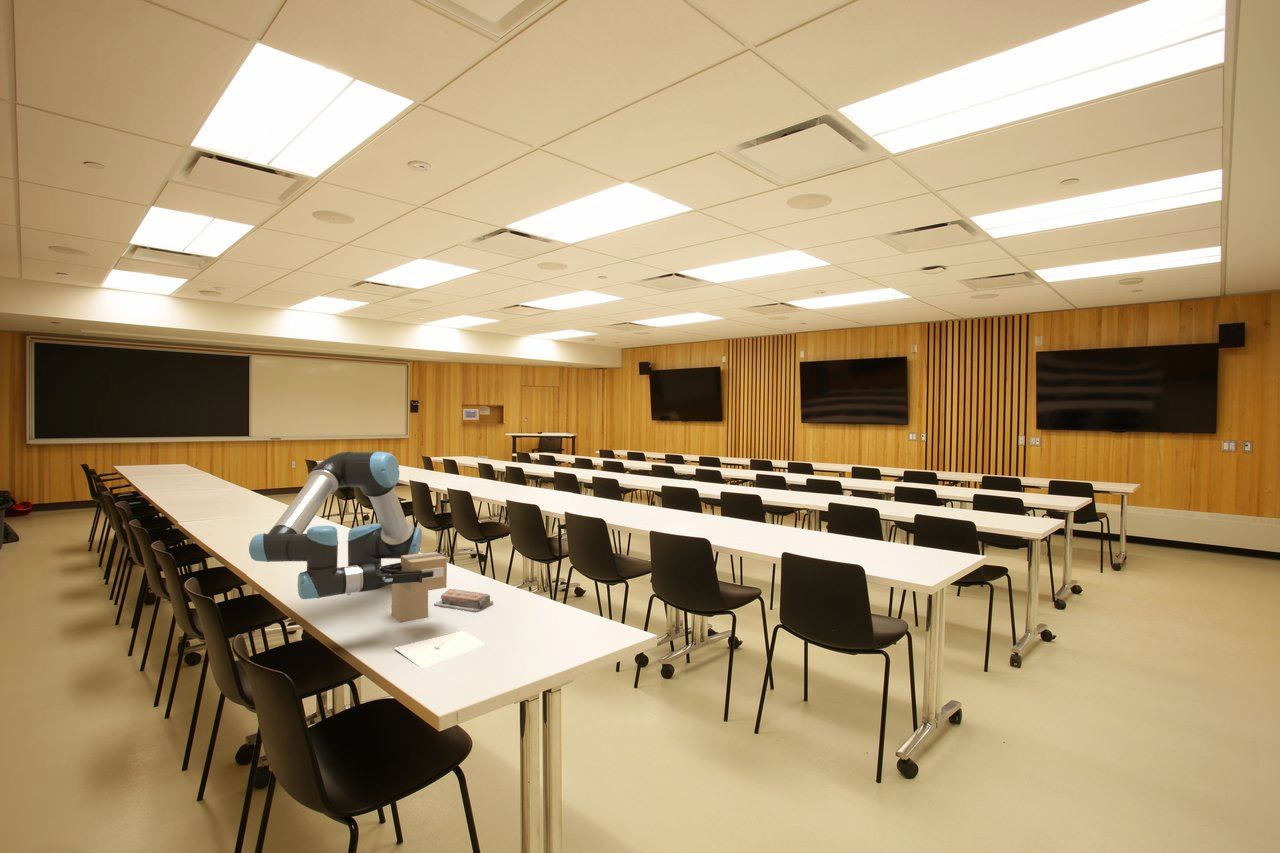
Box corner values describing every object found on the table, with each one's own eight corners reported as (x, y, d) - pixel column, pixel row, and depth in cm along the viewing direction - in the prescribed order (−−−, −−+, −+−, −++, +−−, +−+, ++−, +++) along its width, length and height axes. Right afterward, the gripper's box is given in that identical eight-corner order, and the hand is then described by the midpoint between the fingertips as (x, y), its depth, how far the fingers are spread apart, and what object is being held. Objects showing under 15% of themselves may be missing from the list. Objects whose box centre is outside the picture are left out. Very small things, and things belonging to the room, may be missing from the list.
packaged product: (494, 591, 208) (476, 599, 199) (494, 605, 208) (476, 614, 199) (452, 585, 215) (433, 593, 206) (452, 599, 215) (433, 607, 206)
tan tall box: (391, 614, 196) (391, 566, 196) (419, 609, 202) (419, 562, 201) (399, 622, 189) (399, 572, 189) (427, 617, 194) (428, 568, 194)
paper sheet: (471, 631, 183) (471, 628, 183) (514, 666, 160) (514, 662, 160) (391, 648, 168) (391, 644, 168) (426, 689, 146) (426, 684, 146)
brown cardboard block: (400, 584, 183) (400, 555, 183) (435, 579, 190) (435, 551, 190) (410, 593, 175) (410, 562, 175) (446, 587, 181) (447, 557, 181)
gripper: (351, 582, 181) (425, 572, 194) (369, 601, 162) (449, 588, 176) (351, 557, 181) (425, 549, 194) (369, 573, 162) (450, 563, 176)
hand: (437, 568), depth 185 cm, fingers closed on brown cardboard block, 11 cm apart
